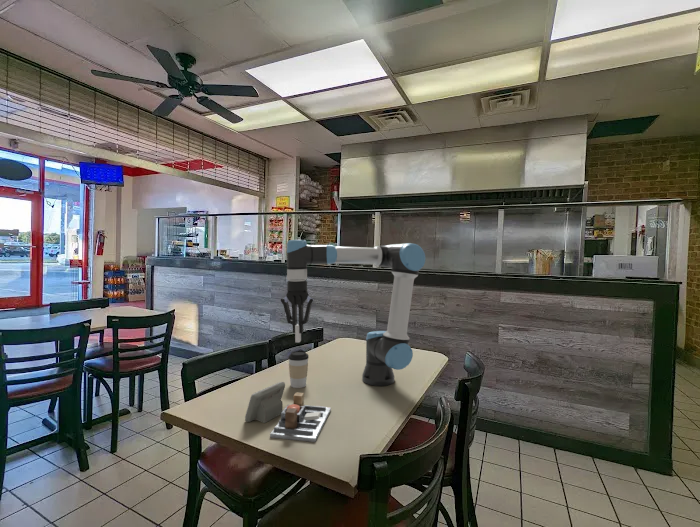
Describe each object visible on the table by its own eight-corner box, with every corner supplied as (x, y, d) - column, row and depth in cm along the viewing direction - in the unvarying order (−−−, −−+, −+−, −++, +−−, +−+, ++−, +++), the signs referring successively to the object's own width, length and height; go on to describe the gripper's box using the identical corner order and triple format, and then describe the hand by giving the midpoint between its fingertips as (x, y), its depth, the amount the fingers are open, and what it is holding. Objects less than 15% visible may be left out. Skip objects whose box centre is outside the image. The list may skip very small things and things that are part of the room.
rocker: (320, 415, 120) (320, 411, 120) (318, 419, 117) (318, 415, 117) (307, 416, 120) (306, 413, 120) (304, 420, 118) (304, 417, 118)
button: (301, 413, 122) (301, 404, 121) (297, 419, 117) (297, 410, 117) (289, 412, 122) (289, 403, 122) (285, 417, 118) (285, 409, 118)
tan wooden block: (303, 408, 127) (303, 393, 127) (301, 411, 125) (301, 396, 124) (296, 407, 128) (296, 392, 128) (293, 411, 125) (293, 395, 125)
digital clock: (277, 405, 133) (278, 378, 133) (291, 412, 127) (292, 384, 127) (239, 419, 122) (239, 389, 121) (252, 428, 115) (253, 397, 115)
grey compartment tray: (330, 410, 129) (330, 399, 129) (315, 442, 107) (315, 428, 107) (292, 407, 131) (292, 396, 131) (270, 437, 110) (270, 423, 110)
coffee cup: (304, 389, 149) (304, 355, 148) (285, 387, 150) (285, 354, 150) (311, 382, 157) (311, 350, 157) (292, 380, 159) (292, 348, 159)
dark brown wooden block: (296, 425, 114) (297, 408, 114) (294, 430, 111) (294, 412, 111) (288, 425, 115) (288, 408, 115) (285, 429, 112) (285, 412, 112)
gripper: (316, 279, 133) (317, 339, 134) (283, 279, 135) (285, 338, 136) (311, 281, 126) (312, 344, 126) (277, 281, 127) (278, 343, 128)
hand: (298, 341), depth 131 cm, fingers closed
